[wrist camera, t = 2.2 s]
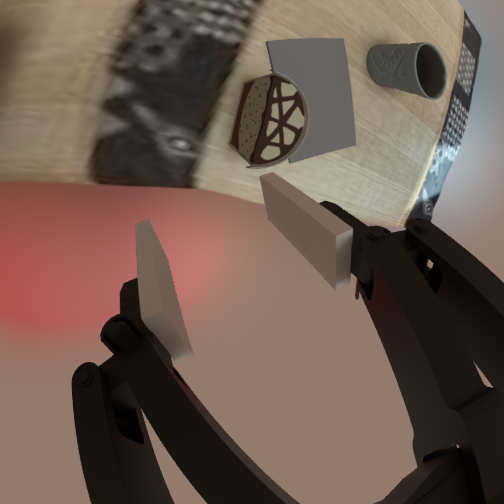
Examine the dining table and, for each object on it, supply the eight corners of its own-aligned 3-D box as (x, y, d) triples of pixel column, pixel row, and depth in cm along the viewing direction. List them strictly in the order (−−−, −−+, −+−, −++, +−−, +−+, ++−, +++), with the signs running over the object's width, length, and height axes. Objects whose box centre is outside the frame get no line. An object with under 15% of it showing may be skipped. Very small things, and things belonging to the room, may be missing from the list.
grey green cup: (400, 87, 41) (448, 98, 31) (367, 92, 39) (419, 103, 30) (392, 41, 34) (443, 44, 25) (357, 41, 33) (411, 40, 24)
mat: (289, 162, 42) (290, 163, 42) (266, 41, 30) (267, 41, 29) (354, 144, 44) (355, 145, 44) (341, 39, 32) (343, 38, 32)
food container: (264, 159, 40) (297, 179, 32) (226, 153, 37) (252, 172, 30) (283, 83, 34) (324, 85, 27) (245, 73, 32) (278, 68, 24)
